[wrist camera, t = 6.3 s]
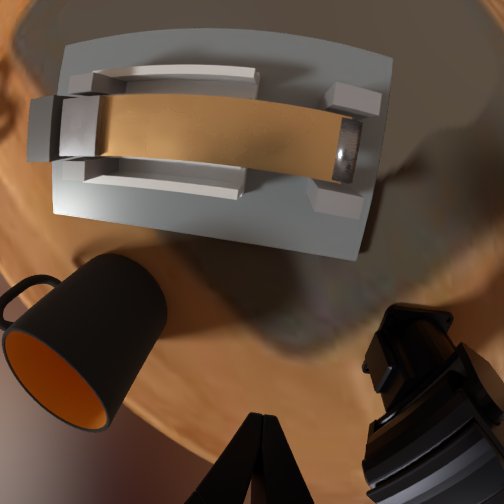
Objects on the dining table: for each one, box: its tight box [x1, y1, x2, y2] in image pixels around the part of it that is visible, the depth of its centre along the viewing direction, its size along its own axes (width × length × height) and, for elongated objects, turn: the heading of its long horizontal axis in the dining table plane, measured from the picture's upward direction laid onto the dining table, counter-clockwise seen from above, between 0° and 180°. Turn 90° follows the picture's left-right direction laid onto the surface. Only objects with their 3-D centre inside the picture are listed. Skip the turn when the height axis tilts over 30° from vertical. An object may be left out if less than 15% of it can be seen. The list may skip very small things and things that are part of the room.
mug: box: [0, 254, 167, 433], centre depth 17 cm, size 8×12×10 cm
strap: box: [59, 94, 363, 184], centre depth 12 cm, size 15×3×2 cm, turn 82°
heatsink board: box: [27, 28, 393, 261], centre depth 14 cm, size 22×13×6 cm, turn 82°
